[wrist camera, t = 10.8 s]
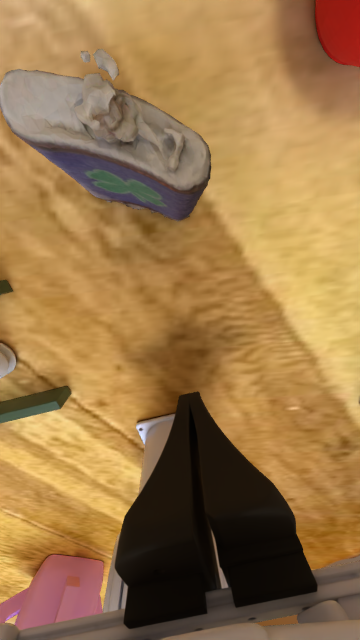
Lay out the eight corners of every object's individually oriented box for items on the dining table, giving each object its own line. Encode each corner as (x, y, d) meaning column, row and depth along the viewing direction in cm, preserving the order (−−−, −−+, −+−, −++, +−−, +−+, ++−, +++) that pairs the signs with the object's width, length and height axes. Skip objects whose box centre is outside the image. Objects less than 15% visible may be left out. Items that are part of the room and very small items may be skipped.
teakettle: (85, 543, 34) (42, 690, 23) (125, 578, 40) (107, 711, 28) (6, 565, 36) (-73, 716, 24) (56, 596, 41) (12, 731, 30)
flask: (86, 196, 16) (-57, 93, 6) (89, 155, 15) (-75, -50, 5) (188, 226, 17) (217, 185, 7) (196, 190, 16) (244, 84, 6)
